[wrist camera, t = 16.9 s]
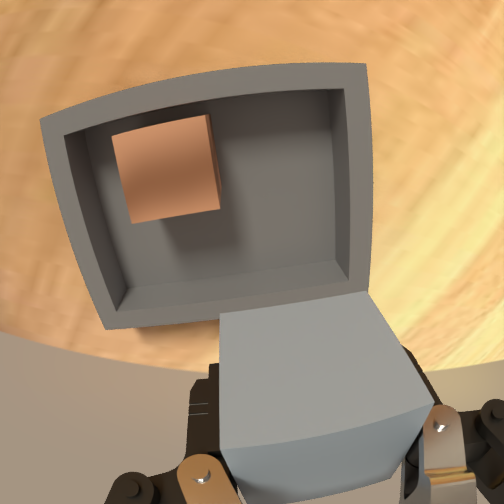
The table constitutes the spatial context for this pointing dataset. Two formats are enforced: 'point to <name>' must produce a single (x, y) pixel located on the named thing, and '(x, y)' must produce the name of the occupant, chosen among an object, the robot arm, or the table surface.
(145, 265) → the charcoal tray
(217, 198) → the terracotta block
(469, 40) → the table surface
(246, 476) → the grey block
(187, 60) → the table surface
